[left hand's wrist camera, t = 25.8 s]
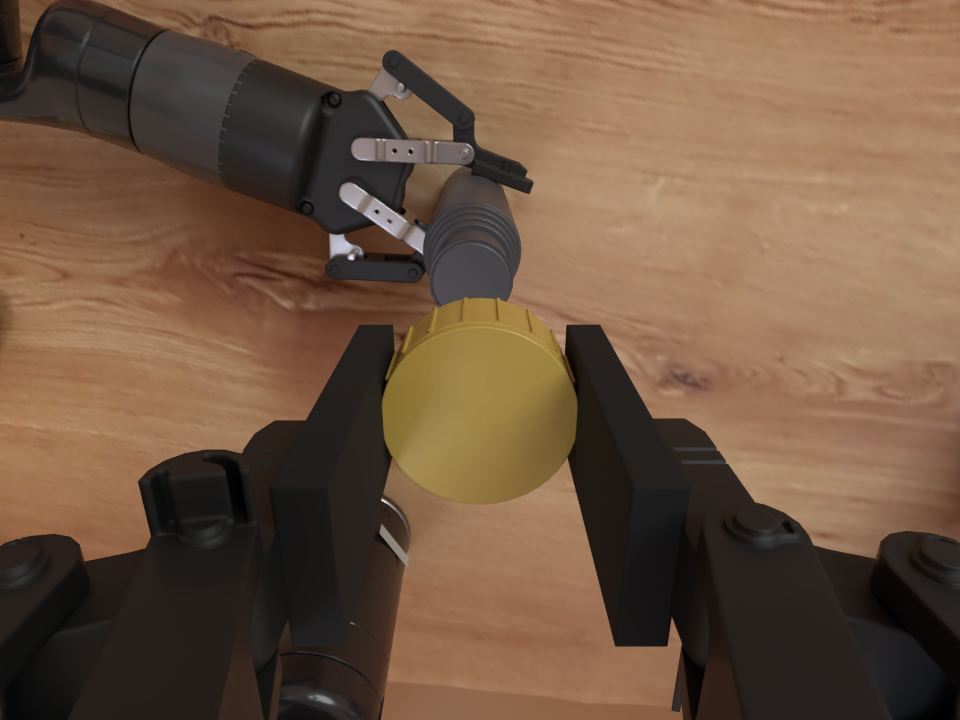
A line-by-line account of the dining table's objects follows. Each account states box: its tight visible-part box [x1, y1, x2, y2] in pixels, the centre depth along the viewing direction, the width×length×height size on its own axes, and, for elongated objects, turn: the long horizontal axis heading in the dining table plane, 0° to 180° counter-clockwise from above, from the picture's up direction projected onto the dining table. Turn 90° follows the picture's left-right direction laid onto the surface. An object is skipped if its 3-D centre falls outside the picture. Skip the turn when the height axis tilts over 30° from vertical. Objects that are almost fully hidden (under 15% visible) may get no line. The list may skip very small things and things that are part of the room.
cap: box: [382, 297, 578, 504], centre depth 13 cm, size 4×4×2 cm
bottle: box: [423, 166, 521, 307], centre depth 33 cm, size 4×4×23 cm
